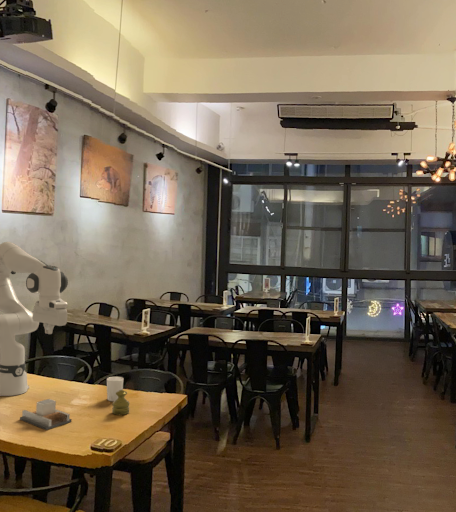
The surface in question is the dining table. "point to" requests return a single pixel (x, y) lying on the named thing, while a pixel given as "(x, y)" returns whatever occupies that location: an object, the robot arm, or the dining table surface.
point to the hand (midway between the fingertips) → (48, 333)
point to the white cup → (114, 387)
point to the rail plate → (46, 419)
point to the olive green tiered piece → (120, 404)
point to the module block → (45, 407)
